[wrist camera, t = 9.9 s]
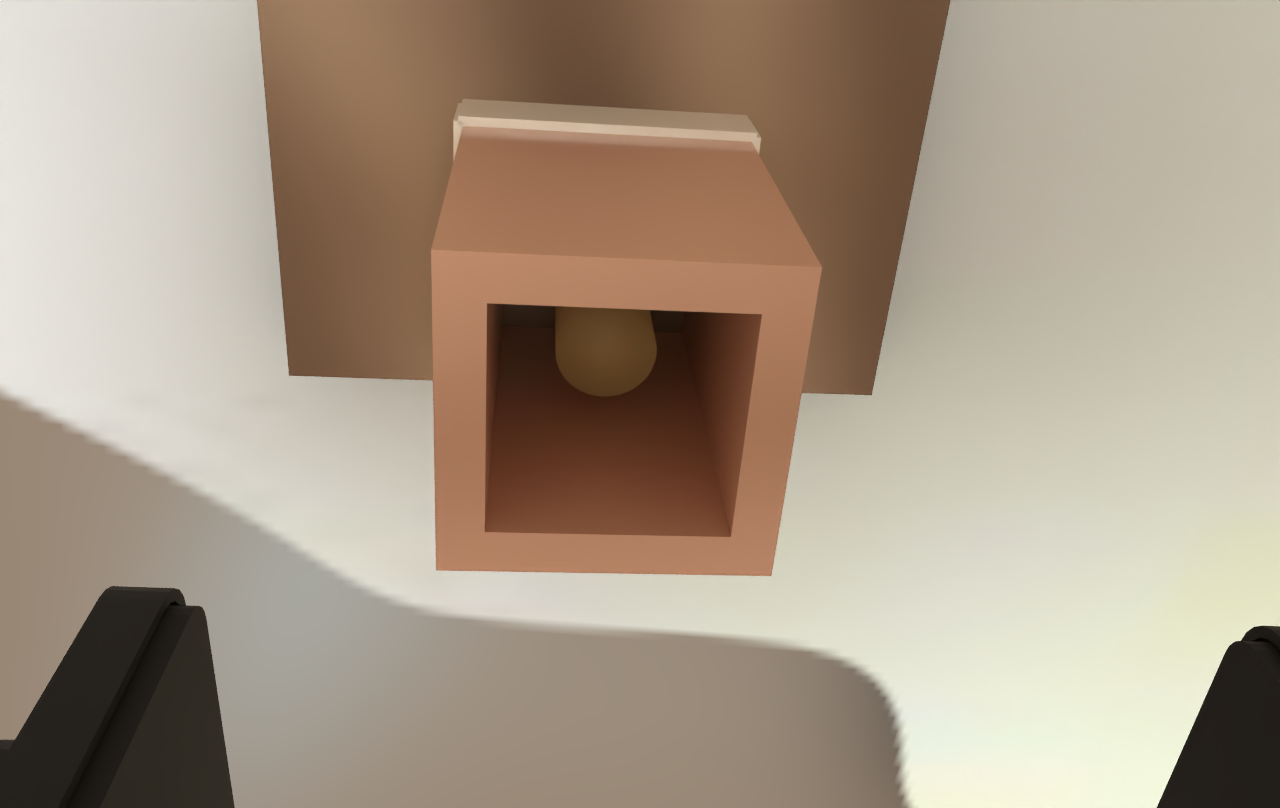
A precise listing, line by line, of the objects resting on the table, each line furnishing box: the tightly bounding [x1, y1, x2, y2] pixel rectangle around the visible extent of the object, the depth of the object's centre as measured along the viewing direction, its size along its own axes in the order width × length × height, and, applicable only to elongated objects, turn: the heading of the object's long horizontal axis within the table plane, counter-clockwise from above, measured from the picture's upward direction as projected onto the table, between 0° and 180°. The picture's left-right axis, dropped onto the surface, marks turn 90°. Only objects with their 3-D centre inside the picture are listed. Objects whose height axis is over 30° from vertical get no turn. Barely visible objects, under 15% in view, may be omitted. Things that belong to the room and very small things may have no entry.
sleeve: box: [431, 99, 822, 576], centre depth 18 cm, size 5×5×7 cm
